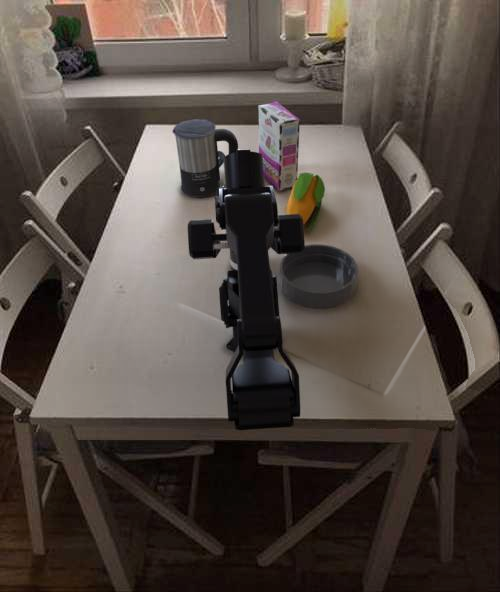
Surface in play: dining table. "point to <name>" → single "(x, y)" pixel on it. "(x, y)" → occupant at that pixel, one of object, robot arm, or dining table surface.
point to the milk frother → (201, 155)
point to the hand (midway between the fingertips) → (245, 244)
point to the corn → (306, 197)
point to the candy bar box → (279, 144)
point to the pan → (318, 276)
